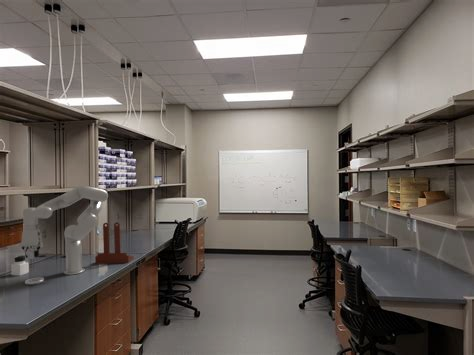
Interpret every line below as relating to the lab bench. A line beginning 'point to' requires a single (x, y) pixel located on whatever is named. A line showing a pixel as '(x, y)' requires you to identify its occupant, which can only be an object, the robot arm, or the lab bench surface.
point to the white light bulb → (30, 253)
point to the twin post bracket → (108, 256)
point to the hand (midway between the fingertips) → (32, 256)
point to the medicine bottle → (19, 266)
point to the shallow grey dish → (34, 281)
